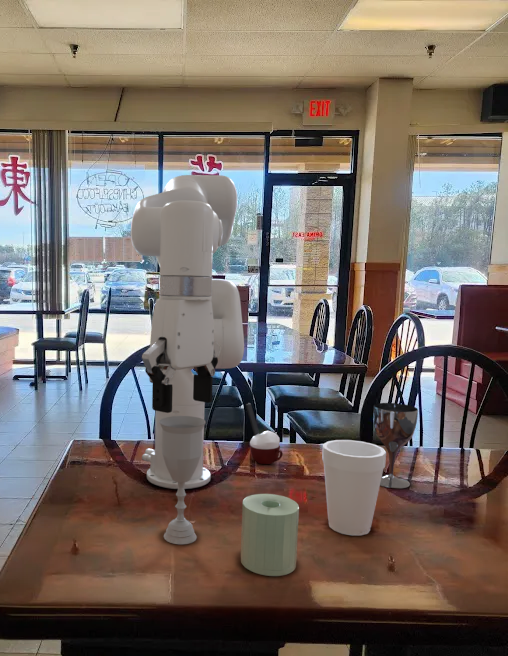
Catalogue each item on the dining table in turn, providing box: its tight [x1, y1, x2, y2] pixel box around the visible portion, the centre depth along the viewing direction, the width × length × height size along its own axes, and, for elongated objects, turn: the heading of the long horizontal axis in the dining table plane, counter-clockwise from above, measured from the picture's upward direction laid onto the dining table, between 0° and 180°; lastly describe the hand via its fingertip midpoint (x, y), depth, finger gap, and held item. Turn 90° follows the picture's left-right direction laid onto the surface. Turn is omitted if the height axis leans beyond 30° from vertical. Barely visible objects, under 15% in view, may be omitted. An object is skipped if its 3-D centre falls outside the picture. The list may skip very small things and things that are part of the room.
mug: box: [240, 493, 300, 577], centre depth 81 cm, size 10×8×8 cm
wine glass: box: [372, 402, 419, 489], centre depth 112 cm, size 8×8×15 cm
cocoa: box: [245, 402, 283, 465], centre depth 123 cm, size 10×6×12 cm, turn 16°
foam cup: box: [321, 439, 387, 536], centre depth 91 cm, size 10×9×13 cm
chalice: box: [159, 416, 207, 545], centre depth 86 cm, size 7×7×18 cm
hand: (183, 406), depth 84 cm, fingers open, 9 cm apart
